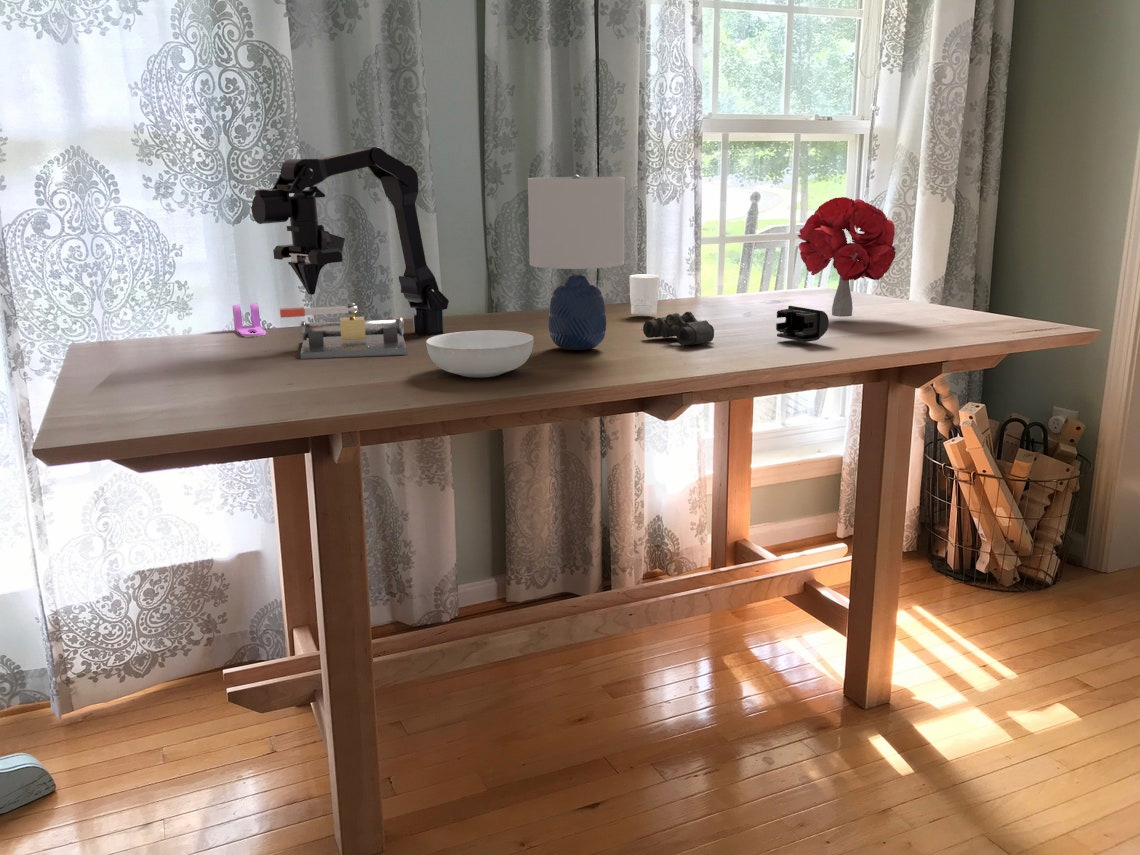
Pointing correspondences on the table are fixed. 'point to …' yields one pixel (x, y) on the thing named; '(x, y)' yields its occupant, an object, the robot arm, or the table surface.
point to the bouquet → (848, 245)
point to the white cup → (644, 293)
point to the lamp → (576, 249)
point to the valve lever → (317, 310)
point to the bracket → (255, 321)
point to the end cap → (802, 324)
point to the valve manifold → (353, 338)
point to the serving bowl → (480, 352)
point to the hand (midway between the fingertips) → (311, 294)
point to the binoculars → (680, 328)
